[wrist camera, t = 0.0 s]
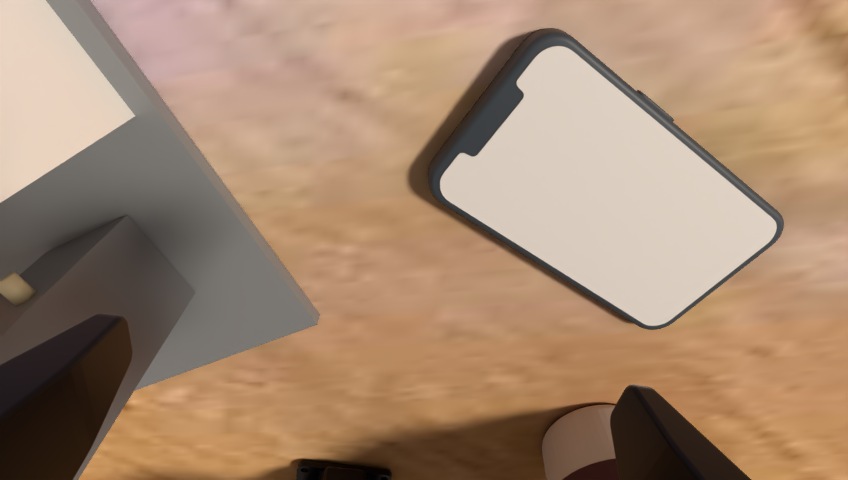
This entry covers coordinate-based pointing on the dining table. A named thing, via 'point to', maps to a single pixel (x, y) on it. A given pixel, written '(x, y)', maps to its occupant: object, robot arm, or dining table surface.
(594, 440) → the coffee cup
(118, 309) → the plug
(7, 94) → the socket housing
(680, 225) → the smartphone
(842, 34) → the dining table surface
